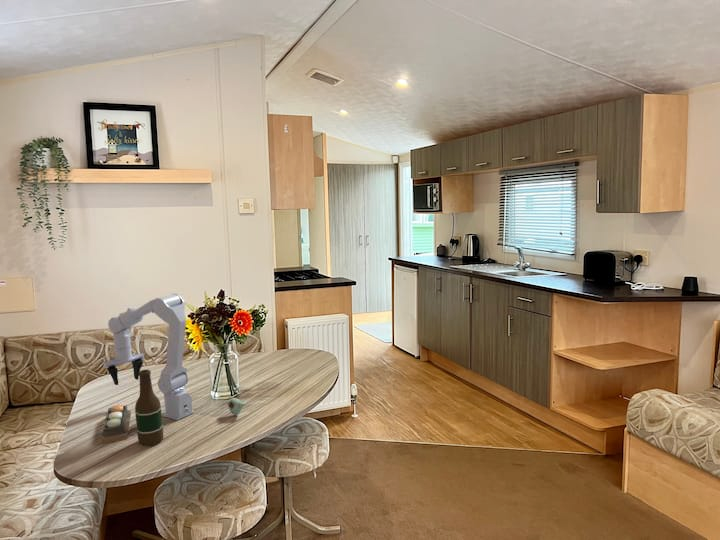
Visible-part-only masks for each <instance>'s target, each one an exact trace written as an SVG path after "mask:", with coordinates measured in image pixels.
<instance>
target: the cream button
mask: <svg viewBox="0 0 720 540" xmlns="http://www.w3.org/2000/svg"><path fill="white" fill-rule="evenodd" d="M112 419H122V412H113V413H111V414H109V420H112Z"/></svg>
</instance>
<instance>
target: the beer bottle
mask: <svg viewBox="0 0 720 540" xmlns="http://www.w3.org/2000/svg"><path fill="white" fill-rule="evenodd" d="M151 374H152V371H151V370H149V369H142V370H140V372H139V374H138V375H139V397H138V398H137V400H136V402H135V407H134V409H135V411H134V413H135V422H136V432H137V434H136V435H137V440H138V443H139V445H140V446H142V447H152V446H156V445H159V444H160V443H162V441H163V439H164V425H163V416H162V413H163V412H162V405H161V402H160V399H159V398H158V396H157V395H156V394H155V393H154V388H153V384H152V379H151V377H152V376H151Z"/></svg>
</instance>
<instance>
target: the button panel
mask: <svg viewBox="0 0 720 540" xmlns="http://www.w3.org/2000/svg"><path fill="white" fill-rule="evenodd" d="M110 408H111V407H108V408H107V413H106V415H105V419H104V422H103V423H104V424H103V427H102V428H103V429H102V432H101V436H100V444H104V443H105V444H106V443H111V442H116V441H122V440H128V438H129V437H128V436H129V430H130V425H131V424H130V423H131V416H132V412H131V410H129V409H128V405H127V404H126V405H123V409H124V411H123V412H122V419H120V420H121V426H117V427H111V428H107V422H108V421H109V414H111V409H110Z"/></svg>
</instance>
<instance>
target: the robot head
mask: <svg viewBox="0 0 720 540" xmlns="http://www.w3.org/2000/svg"><path fill="white" fill-rule="evenodd" d="M226 405H227V407H228V410H229V411H230V413H231V414H232V415H233V416H238V415H240V413H241V410H242V409H243V408H244V407H245V405H246V403H245V402H243V401H242V400H240V399H238V398H237V397H232V398H230V399H229V400H226Z"/></svg>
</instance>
